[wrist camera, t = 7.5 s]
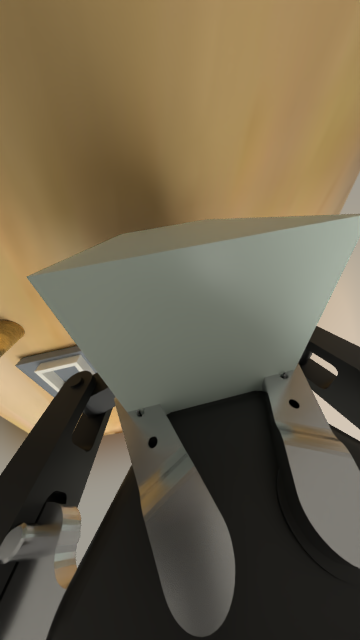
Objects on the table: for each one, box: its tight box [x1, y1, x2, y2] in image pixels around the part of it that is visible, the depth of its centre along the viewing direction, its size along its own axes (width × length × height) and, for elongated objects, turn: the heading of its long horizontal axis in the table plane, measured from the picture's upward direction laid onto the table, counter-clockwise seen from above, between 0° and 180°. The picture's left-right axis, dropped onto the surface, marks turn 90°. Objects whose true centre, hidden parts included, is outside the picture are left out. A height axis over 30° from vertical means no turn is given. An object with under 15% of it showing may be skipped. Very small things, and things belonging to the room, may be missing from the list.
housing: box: [27, 214, 360, 415], centre depth 9 cm, size 12×6×9 cm, turn 8°
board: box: [15, 346, 97, 397], centre depth 24 cm, size 14×24×8 cm, turn 98°
